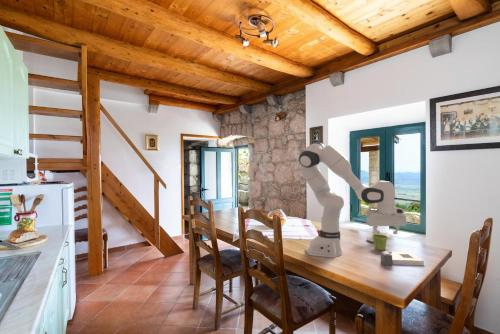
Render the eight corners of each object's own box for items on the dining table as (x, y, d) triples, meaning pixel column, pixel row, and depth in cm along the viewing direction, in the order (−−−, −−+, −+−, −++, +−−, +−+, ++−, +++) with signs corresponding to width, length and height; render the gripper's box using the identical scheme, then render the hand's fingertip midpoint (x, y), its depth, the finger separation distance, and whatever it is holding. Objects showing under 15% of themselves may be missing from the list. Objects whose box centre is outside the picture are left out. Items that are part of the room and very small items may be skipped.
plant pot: (379, 252, 157) (379, 238, 157) (369, 247, 166) (368, 234, 166) (391, 250, 159) (391, 237, 160) (380, 246, 169) (380, 233, 169)
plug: (384, 265, 136) (384, 254, 136) (380, 262, 141) (380, 251, 141) (392, 266, 135) (392, 254, 135) (388, 262, 140) (388, 251, 140)
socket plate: (393, 264, 137) (393, 258, 137) (382, 255, 151) (382, 250, 151) (423, 265, 135) (423, 259, 135) (410, 256, 149) (410, 251, 149)
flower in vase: (379, 239, 184) (379, 206, 184) (386, 244, 173) (386, 208, 173) (361, 239, 186) (361, 206, 186) (367, 243, 174) (366, 208, 174)
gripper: (368, 210, 136) (368, 235, 136) (407, 210, 133) (408, 235, 133) (364, 208, 142) (365, 232, 142) (402, 208, 140) (402, 232, 140)
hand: (386, 233), depth 138 cm, fingers open, 8 cm apart
